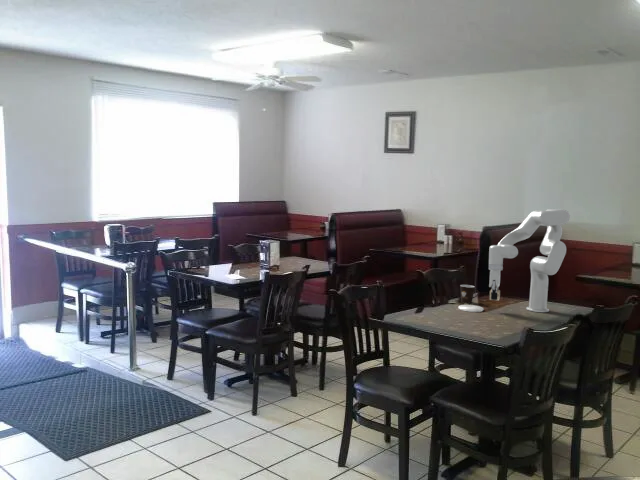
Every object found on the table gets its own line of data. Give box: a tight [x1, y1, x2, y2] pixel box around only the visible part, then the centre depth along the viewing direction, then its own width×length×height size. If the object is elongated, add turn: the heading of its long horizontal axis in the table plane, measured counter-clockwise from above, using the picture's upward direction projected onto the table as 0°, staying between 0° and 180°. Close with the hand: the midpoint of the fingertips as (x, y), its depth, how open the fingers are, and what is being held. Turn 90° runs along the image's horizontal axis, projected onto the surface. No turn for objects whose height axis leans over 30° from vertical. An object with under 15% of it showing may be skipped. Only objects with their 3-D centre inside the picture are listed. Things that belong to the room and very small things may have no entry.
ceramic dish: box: [457, 304, 484, 313], centre depth 334 cm, size 14×14×1 cm
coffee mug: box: [459, 284, 480, 304], centre depth 354 cm, size 12×9×10 cm
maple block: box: [489, 289, 501, 302], centre depth 330 cm, size 5×5×5 cm
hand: (494, 298), depth 330 cm, fingers closed on maple block, 4 cm apart
